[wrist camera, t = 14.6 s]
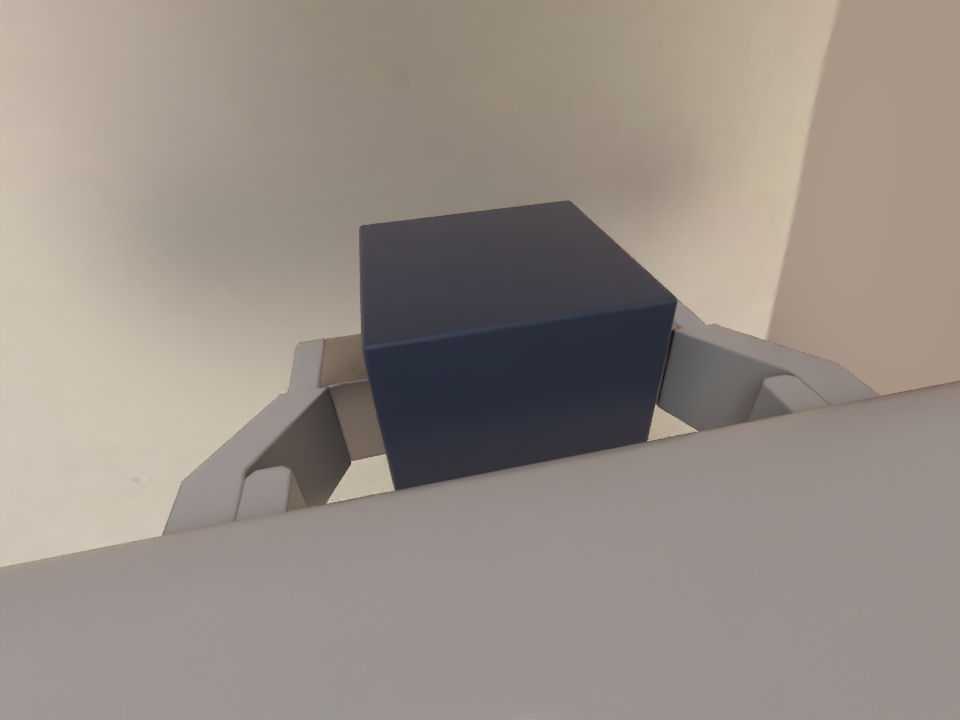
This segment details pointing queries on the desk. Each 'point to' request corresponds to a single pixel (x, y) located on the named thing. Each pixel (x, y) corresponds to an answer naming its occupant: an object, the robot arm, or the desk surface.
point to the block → (507, 340)
